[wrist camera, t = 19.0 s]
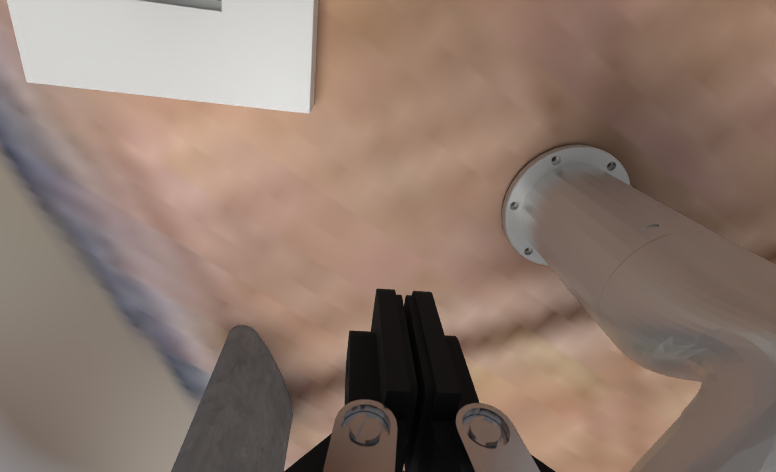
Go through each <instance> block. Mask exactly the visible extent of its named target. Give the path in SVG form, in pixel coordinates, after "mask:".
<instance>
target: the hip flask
mask: <svg viewBox="0 0 776 472" xmlns="http://www.w3.org/2000/svg"><path fill="white" fill-rule="evenodd" d="M292 417H293V414H292V407H291V402H290V398H289V394H288V391H287V388H286V385H285V383H284V380H283V378H282V375H281V373H280V371H279V368H278V366H277V364H276V362H275V360H274V359H273V357H272V355H271V353H270V352H269V350H268V348H267V347H266V345H265V344H264V342H263V341H262V339H261V338H260V337H259V335H258V334H257V333H256V331H255V330H254V329H252V328H250V327H248V326H237V327H235V328H233V329H232V330H231V331H230V333H229V335H228V337H227V340H226V342H225V344H224V347H223V349H222V352H221V354H220V356H219V359H218V361H217V364H216V366H215V368H214V371H213V373H212V375H211V378H210V380H209V383H208V385H207V387H206V390H205V392H204V394H203V397H202V399H201V402H200V404H199V406H198V409H197V411H196V414H195V416H194V418H193V421H192V423H191V425H190V428H189V430H188V433H187V435H186V437H185V440H184V442H183V445H182V447H181V449H180V452H179V454H178V456H177V459H176V462H175V463H174V466H173V468H172V471H171V472H284V465H285V459H286V453H287V447H288V441H289V435H290V429H291V423H292Z"/></svg>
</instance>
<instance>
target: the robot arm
mask: <svg viewBox="0 0 776 472" xmlns="http://www.w3.org/2000/svg"><path fill="white" fill-rule="evenodd" d="M553 157H554V159H553V160H552V158H553ZM512 202H514V203H513V204H511V203H512ZM502 225H503V229H504V232H505V235H506V237H507V239H508V240H509V242H510V244H511V245H512V246H513V248H514V249H515V250H516V251H517V252H518V253H519V254H520V255H521V256H522V257H524V258H526V259H528V260H530V261H532V262H534V263H537V264H541V265H548V266H550V268H551V269H552V270H553V271H554V272H555V274H556V275H557V276H558V277H559V278H560V280H561V281H562V282H563V283H564V284H565V286H566V287H567V288H568V289H569V290H570V292H571V293H572V294H573V295H574V296H575V298H576V299H577V300H578V301H579V302H580V304H581V305H582V306H583V307H584V308H585V310H586V311H587V312H588V313H589V314H590V316H591V317H592V318H593V319H594V320H595V322H596V323H597V324H598V325H599V326H600V328H601V329H602V330H603V331H604V332H605V334H606V335H607V336H608V337H609V338H610V339H611V340H612V342H613V343H614V344H615V345H616V346H617V347H618V348H619V349H620V350H621V351H622V352H623V353H624V354H625V355H626V356H627V357H628V358H630V359H631V360H632V361H634V362H635V363H637V364H639V365H640V366H642V367H644V368H646V369H648V370H650V371H653V372H656V373H659V374H662V375H666V376H669V377H674V378H679V379H684V380H691V381H699V382H702V384H701V388H700V390H699V392H698V394H697V395H696V396H695V397H694V399H693V400H692V401H691V402H690V403H689V405H688V406H687V407H686V408H685V409H684V410H683V412H682V413H681V416H680V417H679V418H678V419H677V420H676V421H675V422H674V423H673V424H672V425H671V427H670V428H669V429H668V430H667V431H666V432H665V433H664V434H663V435H662V436H661V437H660V438H659V439H658V440H657V442H656V443H655V444H654V445H653V446H652V447H651V448H650V449H649V450H648V451H647V452H646V453H645V454H644V455H643V457H642V458H641V459H640V460H639V461H638V462H637V463H636V464H635V466H634V467H633V468H632V469H631V470H630V471H629V472H776V265H775V264H773V263H771V262H770V261H768V260H766V259H764V258H762V257H760V256H758V255H756V254H754V253H752V252H750V251H748V250H747V249H745V248H743V247H741V246H739V245H738V244H736V243H734V242H732V241H730V240H728V239H727V238H725V237H723V236H721V235H719V234H717V233H715V232H713V231H711V230H709V229H707V228H706V227H704V226H702V225H700V224H698V223H697V222H695V221H693V220H691V219H689V218H688V217H686V216H684V215H682V214H680V213H679V212H677V211H675V210H673V209H671V208H670V207H668V206H666V205H664V204H662V203H661V202H659V201H657V200H655V199H653V198H651V197H650V196H648V195H646V194H644V193H642V192H641V191H639V190H637V189H635V188H633V187H632V186H631V184H630V179H629V176H628V174H627V171H626V169H625V168H624V167H623V165H622V164H621V163H620V161H619V160H617V159H616V158H615V157H614V156H612V155H611V154H609V153H607V152H606V151H604V150H602V149H599V148H596V147H593V146H589V145H580V144H577V145H566V146H562V147H558V148H555V149H552V150H550V151H548V152H546V153H543V154H541V155H540V156H538V157H537V158H535V159H534V160H532V161H531V162H530V163H529V164H528V165H526V166H525V167H524V168H523V169H522V170H521V171H520V172H519V174H518V175H517V176H516V178H515V179H514V180H513V182H512V183H511V185H510V187H509V189H508V191H507V193H506V196H505V199H504V203H503V208H502ZM404 464H405V472H555V471H554V470H552V469H551V468H549V467H548V466H546V465H545V464H544V463H542V462H541V461H539V460H538V459H536V458H535V457H534V456H532V455H531V454H530V453H529V451H528V449H527V447H526V446H525V444H524V442H523V440H522V439H521V437H520V435H519V433H518V432H517V430H516V428H515V426H514V425H513V423H512V422H511V421H510V419H509V418H508V417H507V416H506V415H505V414H504V413H503V412H501V411H500V410H498V409H497V408H495V407H493V406H490V405H487V404H483V403H479V400H478V397H477V394H476V391H475V388H474V385H473V382H472V379H471V376H470V373H469V370H468V367H467V364H466V361H465V358H464V355H463V352H462V349H461V347H460V344H459V341H458V339H457V337H456V336H445V335H444V332H443V328H442V325H441V322H440V318H439V315H438V312H437V308H436V305H435V301H434V298H433V295H432V293H431V292H422V291H413V293H412V296H411V295H406V298H405V303H404V305H403V300H402V295H396V292H395V290H390V289H377V290H376V296H375V304H374V311H373V319H372V327H371V332H366V331H349V339H348V349H347V361H346V378H345V406H344V407H343V408H342V409H341V410H340V411H339V412H338V414H337V416H336V419H335V422H334V426H333V431H332V434H330V435H329V436H328V437H327V438H325V439H324V440H323V441H322V442H320V443H319V444H318V445H317V446H315V447H314V448H313V449H312V450H310V451H309V452H308V453H307V454H305V455H304V456H303V457H302V458H300V459H299V460H298V461H297V462H295V463H294V464H293V465H292V466H291V467H289V468H288V469H287V470H286V471H284V472H402V471H403V466H404Z"/></svg>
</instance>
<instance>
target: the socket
mask: <svg viewBox="0 0 776 472" xmlns="http://www.w3.org/2000/svg"><path fill="white" fill-rule="evenodd" d="M318 1H319V0H222V1H219V0H7V3H8V7H9V11H10V15H11V19H12V23H13V27H14V32H15V36H16V40H17V44H18V48H19V52H20V56H21V60H22V65H23V69H24V73H25V77H26V81H27V82H30V83H39V84H48V85H57V86H66V87H75V88H84V89H93V90H102V91H111V92H120V93H129V94H138V95H146V96H155V97H164V98H173V99H182V100H191V101H200V102H209V103H218V104H227V105H236V106H245V107H254V108H263V109H272V110H281V111H290V112H299V113H308V114H309V113H310V112H311V110H312V108H313V106H314V94H315V71H316V48H317V24H318Z"/></svg>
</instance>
